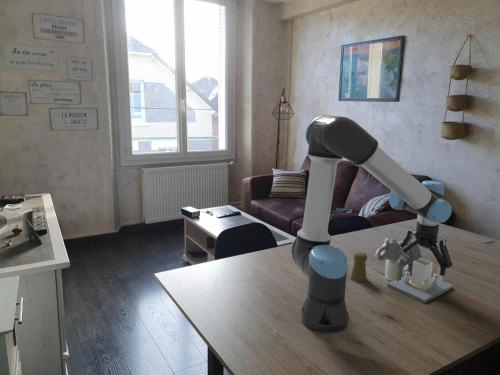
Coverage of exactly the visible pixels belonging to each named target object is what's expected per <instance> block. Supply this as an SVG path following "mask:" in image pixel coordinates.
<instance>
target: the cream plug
mask: <svg viewBox="0 0 500 375" xmlns="http://www.w3.org/2000/svg"><path fill="white" fill-rule="evenodd" d="M433 266H434V262H432V261H430V260H427V259H424V258H418V259H415V260H413V262H412V270H411V273H412V276H411V283H412V284H414V285H417V286H419V287H421V288H422V284H423V279H427V280H428V283H427V286H428V285H430V282H431V277H432V273H433Z"/></svg>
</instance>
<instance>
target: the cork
mask: <svg viewBox="0 0 500 375" xmlns="http://www.w3.org/2000/svg"><path fill="white" fill-rule="evenodd" d="M353 260H354V262H353V265H352V270H351V275H350V279H351V280H352V281H354V282H357V283H358V282H359V283H362V282H366V281H367V270H366V269H367V267H366V261H367V260H368V255H367V253H366V252H363V251H355V252H354V253H353Z"/></svg>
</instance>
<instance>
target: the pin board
mask: <svg viewBox="0 0 500 375" xmlns="http://www.w3.org/2000/svg"><path fill="white" fill-rule="evenodd" d="M410 274H411V272H410V271H405V272H404V276H401V277H402V278H401V277H400V278H401V280H399V281H397V279H394V280H392V281H389V282H388V283H387V284H386V285H387V287H388V288H391V289H392V290H395V291H397V292H399V293H401V294H403V295H406V296H408V297H410V298H412V299H414V300H417V301H419V302H420V303H422V304H425V303H427V302H430V301H431V300H433V299H435V298H437V297H438V296H441V295H443V294H444V293H447V292H448V291H450V290H452V289H453V288H454V284H451V283H449V282H446V281H445V280H442V282H441V283H439V284H437V283H436V279H437V273H433V275H432V276H431V282H430V285H428V286H427V283H428V280H427V279H423V284H422V288H421V287H419V286H417V285H414V284H412V283H411V276H410Z"/></svg>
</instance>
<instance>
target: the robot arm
mask: <svg viewBox="0 0 500 375" xmlns="http://www.w3.org/2000/svg"><path fill="white" fill-rule="evenodd" d="M305 141H306V143H307V144H308V147H307V149H308V150H307V156H308V158H309V159H310V168H309V169H310V170H309V175H308V184H307V191H306V199H305V205H304V212H303V222H302V227H301V228H300V229H299V230H297V233H296V238H294V239H293V241H292V242H291V245H290V255H291V258H292V260H293V262H294V263H295V265H296V266H297V267H298V268H299V269H300V270H301V271H302V273H303V274H304V275H305V276H306V277H307V279H308V281H307V282H308V283H307V295H306V298H305V300H304V303H303V306H302V308H301V312H300V318H301V321H302V323H303V324H304V325H305V326H306V327H307V328H309V329H311V330H314V331H316V332H320V333H323V334H334V333H340V332H341V331H345V329H347V328H348V326H349V322H350V321H349V320H350V315H349V312H348V308H347V304H346V301H345V298H346V289H347V288H346V286H347V276H348V275H347V273H348V271H349V270H348V269H349V266H348V265H349V264H348V256H347V254H346V252H344V251H343V250H342V249H340V248H339V247H334V246H332V245H331V239H332V237H331V235H330V234H329V232H328V228H329V224H330V223H329V222H330V216H331V209H332V201H333V197H334V188H335V181H336V177H337V169H338V163H340V162H341V161H343V159H345V160H347V161H349V162H351V163H352V165H354V166H356V167H362V168H363V169H364V170H366V171H367V172H368V173H370V174H371V175H372V176H373V177H374V178H375V179H377V180H378V181H379V182H380V183H382V184H383V185H384V186H385V187H387V188H388V189H389V190H390V193H389V194H388V202H389V203H388V204H389V205H390V207H391V208H392V209H394V210H399V211H402V210H406V211H408V212H411V213H413V214H415V215H417V217H416V218H417V219H416V220H417V222H416V225H415V226H416V229H415V230H414V229H410V230H408V231H407V234H406V237H405V238H404V239H403V241H402V242H400V245H399V246H401V247H402V248H403V247H404V246H406V245H407V246H406V247H405V249H404V250H403V251H404V252H405V253H406V252H407V251H409V252H410V251H411V250H413V249H414V248H415V247H417V246H418V245H419V246H420V247H423V248H426V249H429V251H431V252H432V254H433V257H434V258H435V260H436V261H437V263H438V265H439V266H438V267H437V272H436V274H437V279H436V283H437V284H439V283H441V282H442V281H443V276H445V275H446V273H447V269H449V268H451V267H453V263H452V259H451V256H450V253H449V250H448V247H447V240H446V239H444V238H443V239H440V238H438V236H439V230H440V225H439V224H441V223H445V222H446V221H447V220H449V218H450V216H451V215H452V205H451V204H450V203H449V201H447V200H444V193H445V185H444V183H443V182H440V181H436V180H423V181H422V182H420V181H419V180H417V178H416V177H414V176H413V175H412V174H411V173H409V171H407V170H406V169H405V168H404V167H403V166H401V165H400V164H399V162H398V163H397V161H396V160H394V158H392V157H391V156H390V155H389V154H388V153H387V152H385V151H384V150H383V149H382V148H381V147H379V145H380V144H379V141H378V140H377V139H376V138H375V137H373V135H371V134H370V133H369V132H368V131H367V130H366V129H365V128H363V127H362V125H360V124H359V123H358V122H356V121H355V120H353V119H351V118H349V117H346V116H337V115H330V114H328V115H327V114H326V115H325V114H324V115H320V116H317V117H315V118H313V119H312V120H311V121H310V122H309V123H308V125H307V126H306V130H305ZM413 237H415V239H416V240H414V241H413V242H412V243H410V245H409V242H411V240H412V239H413ZM407 253H408V252H407ZM402 269H403V270H402V271H407V270H408V269H409V265H408V264H407V265H405V266H404V268H403V267H402Z"/></svg>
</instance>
